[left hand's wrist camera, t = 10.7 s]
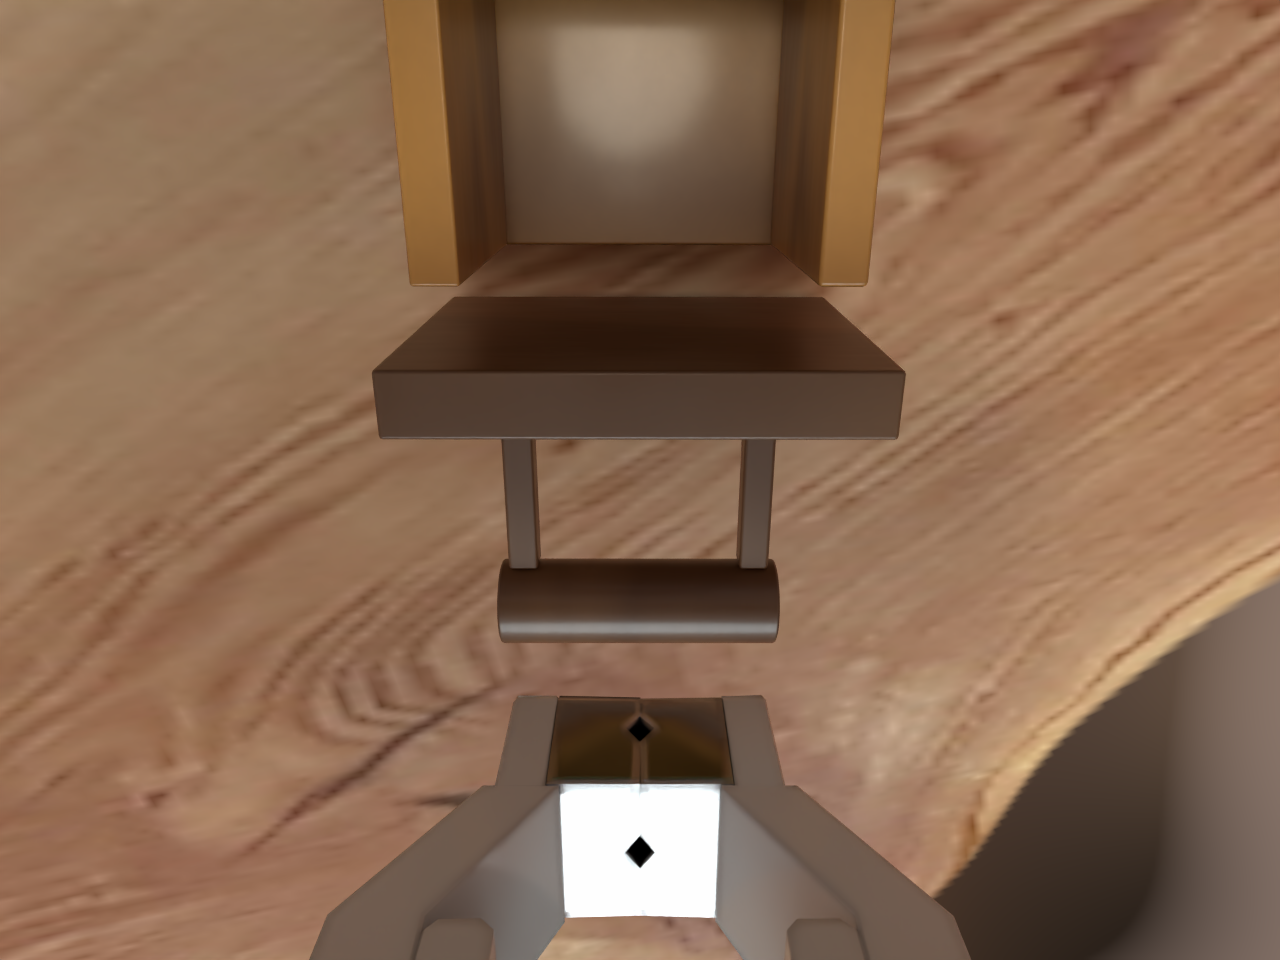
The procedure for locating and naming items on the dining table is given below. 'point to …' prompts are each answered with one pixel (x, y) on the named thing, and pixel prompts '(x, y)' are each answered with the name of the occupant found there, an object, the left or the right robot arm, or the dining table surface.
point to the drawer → (638, 215)
